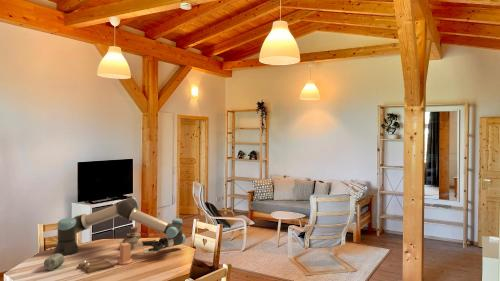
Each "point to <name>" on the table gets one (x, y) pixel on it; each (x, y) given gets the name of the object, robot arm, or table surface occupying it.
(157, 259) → the table surface
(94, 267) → the plate
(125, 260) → the tall pillar on disc
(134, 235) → the pottery
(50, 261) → the spool
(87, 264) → the dowels
